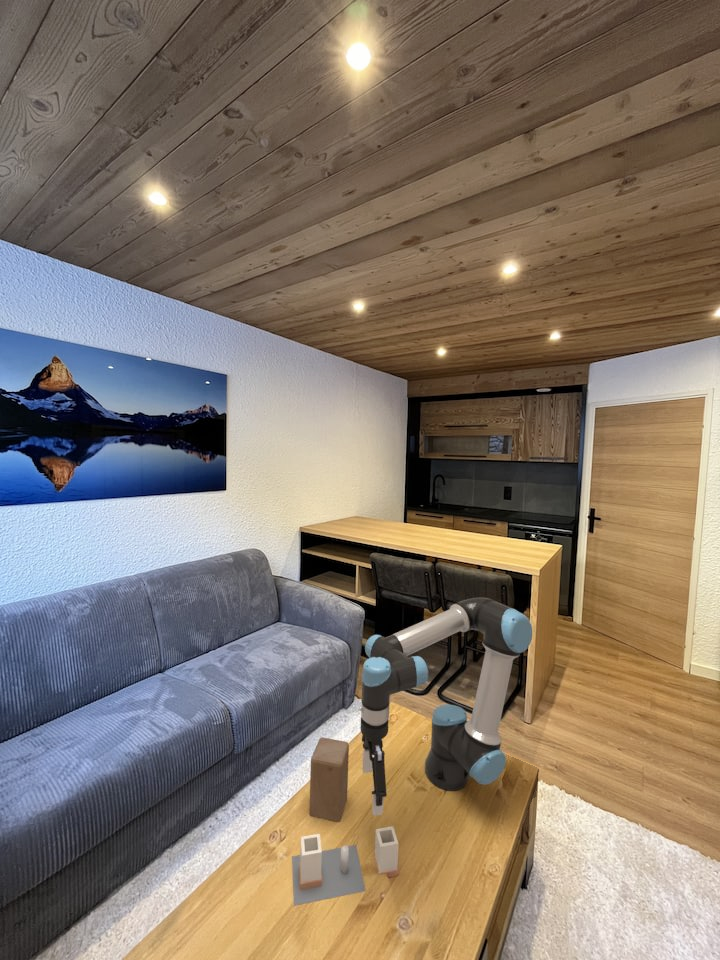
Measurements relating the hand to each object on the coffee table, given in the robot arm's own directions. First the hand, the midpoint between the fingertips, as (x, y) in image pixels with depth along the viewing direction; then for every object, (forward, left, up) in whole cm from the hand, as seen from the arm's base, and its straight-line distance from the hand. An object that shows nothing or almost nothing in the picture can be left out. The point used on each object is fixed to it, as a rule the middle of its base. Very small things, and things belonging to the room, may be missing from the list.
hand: (372, 791), depth 109 cm
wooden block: (+9, -17, -20) cm, 28 cm away
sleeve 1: (+17, +3, -18) cm, 25 cm away
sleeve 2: (-4, +3, -20) cm, 21 cm away
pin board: (+12, +3, -20) cm, 24 cm away
